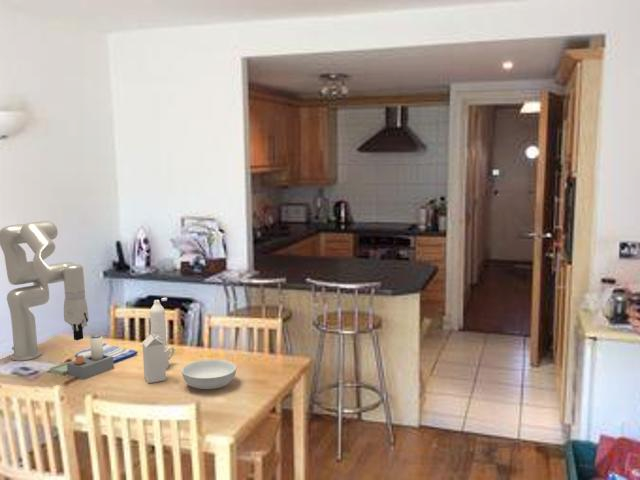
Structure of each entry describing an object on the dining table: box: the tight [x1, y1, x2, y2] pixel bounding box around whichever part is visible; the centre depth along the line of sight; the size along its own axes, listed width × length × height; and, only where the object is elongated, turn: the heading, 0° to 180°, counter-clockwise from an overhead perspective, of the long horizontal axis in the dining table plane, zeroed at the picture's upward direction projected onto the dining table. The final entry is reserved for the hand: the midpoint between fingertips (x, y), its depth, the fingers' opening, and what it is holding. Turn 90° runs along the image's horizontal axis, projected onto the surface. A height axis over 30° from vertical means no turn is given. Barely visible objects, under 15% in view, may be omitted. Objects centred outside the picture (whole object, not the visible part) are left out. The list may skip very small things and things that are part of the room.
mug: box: [164, 345, 175, 371], centre depth 254 cm, size 13×10×8 cm
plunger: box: [75, 355, 84, 366], centre depth 246 cm, size 3×3×4 cm
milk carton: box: [142, 331, 167, 384], centre depth 240 cm, size 7×7×19 cm
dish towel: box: [74, 342, 138, 365], centre depth 270 cm, size 17×24×3 cm
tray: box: [49, 361, 71, 377], centre depth 252 cm, size 9×9×2 cm
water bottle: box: [149, 297, 168, 347], centre depth 271 cm, size 9×6×25 cm
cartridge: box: [89, 333, 104, 361], centre depth 252 cm, size 5×5×13 cm
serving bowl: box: [181, 359, 237, 390], centre depth 234 cm, size 21×21×7 cm
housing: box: [66, 354, 115, 380], centre depth 250 cm, size 10×15×5 cm, turn 148°
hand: (78, 339), depth 244 cm, fingers closed
